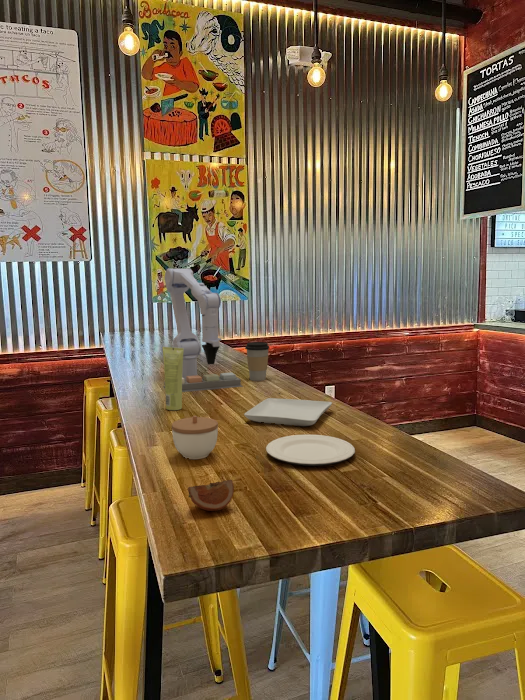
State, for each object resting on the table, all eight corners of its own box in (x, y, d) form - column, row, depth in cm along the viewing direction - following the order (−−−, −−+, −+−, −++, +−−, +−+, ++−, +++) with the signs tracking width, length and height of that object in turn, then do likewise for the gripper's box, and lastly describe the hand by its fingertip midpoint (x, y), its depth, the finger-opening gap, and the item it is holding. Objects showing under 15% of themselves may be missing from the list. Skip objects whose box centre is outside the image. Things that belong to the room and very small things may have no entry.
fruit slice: (192, 519, 95) (191, 492, 94) (184, 504, 101) (183, 478, 100) (238, 512, 98) (237, 485, 97) (227, 497, 104) (226, 472, 103)
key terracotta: (186, 381, 197) (186, 376, 197) (198, 380, 199) (198, 375, 199) (189, 384, 193) (189, 378, 193) (202, 382, 195) (202, 377, 195)
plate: (332, 478, 114) (332, 469, 113) (248, 460, 124) (248, 452, 124) (368, 450, 131) (368, 442, 131) (292, 436, 142) (292, 429, 142)
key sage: (203, 380, 200) (203, 374, 199) (215, 379, 201) (215, 373, 201) (206, 382, 196) (206, 377, 195) (219, 381, 197) (219, 376, 197)
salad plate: (242, 424, 153) (242, 413, 153) (267, 407, 173) (267, 396, 172) (315, 432, 146) (315, 419, 146) (333, 412, 166) (333, 401, 165)
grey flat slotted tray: (162, 388, 198) (162, 380, 198) (232, 382, 208) (232, 374, 208) (169, 395, 187) (169, 386, 187) (243, 389, 197) (243, 380, 197)
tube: (182, 406, 173) (180, 345, 170) (185, 409, 169) (183, 347, 166) (164, 407, 171) (162, 346, 168) (167, 411, 167) (165, 348, 164)
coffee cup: (270, 379, 214) (270, 341, 212) (268, 384, 205) (268, 345, 203) (247, 379, 215) (246, 341, 213) (243, 384, 206) (243, 345, 204)
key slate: (220, 378, 202) (219, 373, 202) (231, 377, 204) (231, 372, 204) (223, 381, 198) (223, 375, 198) (235, 380, 200) (235, 374, 199)
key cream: (169, 383, 195) (168, 377, 195) (181, 381, 197) (181, 376, 196) (171, 385, 191) (171, 379, 191) (184, 384, 193) (184, 378, 192)
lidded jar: (177, 447, 133) (176, 410, 132) (220, 447, 133) (220, 410, 131) (168, 462, 122) (167, 422, 121) (215, 463, 122) (215, 422, 121)
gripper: (227, 328, 190) (227, 366, 192) (214, 324, 204) (215, 360, 206) (207, 329, 188) (208, 367, 190) (196, 325, 201) (197, 361, 203)
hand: (210, 363), depth 198 cm, fingers closed
